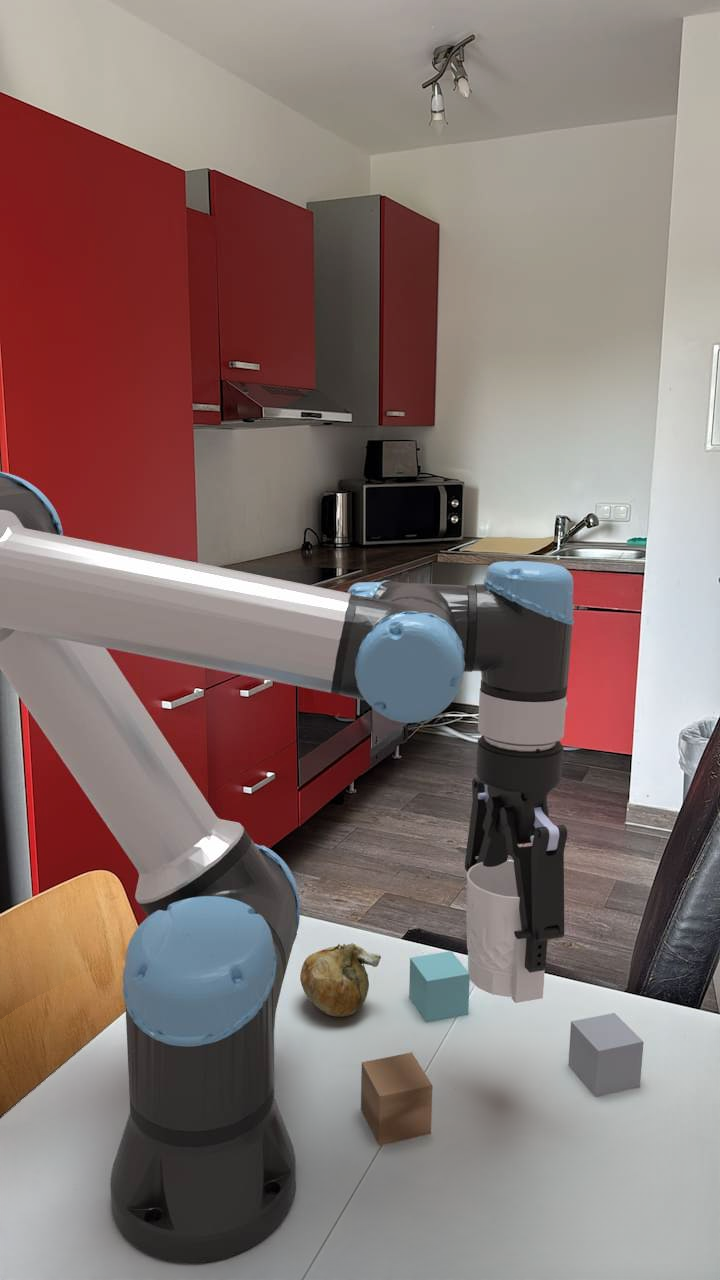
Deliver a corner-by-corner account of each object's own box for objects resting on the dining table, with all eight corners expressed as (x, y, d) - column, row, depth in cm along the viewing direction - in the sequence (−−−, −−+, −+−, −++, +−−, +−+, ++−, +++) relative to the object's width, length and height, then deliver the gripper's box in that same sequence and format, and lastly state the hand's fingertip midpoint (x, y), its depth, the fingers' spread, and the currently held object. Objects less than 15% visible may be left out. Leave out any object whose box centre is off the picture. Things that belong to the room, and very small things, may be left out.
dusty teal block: (425, 1023, 103) (427, 981, 102) (409, 998, 108) (410, 957, 107) (468, 1015, 105) (469, 973, 104) (449, 991, 109) (451, 951, 108)
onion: (343, 980, 111) (344, 917, 109) (384, 1013, 105) (386, 946, 103) (287, 1001, 107) (287, 935, 105) (327, 1037, 100) (327, 968, 99)
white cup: (554, 1003, 85) (562, 899, 83) (465, 1000, 85) (471, 896, 83) (539, 956, 93) (546, 860, 91) (458, 953, 93) (463, 857, 91)
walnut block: (378, 1146, 85) (379, 1096, 84) (360, 1110, 89) (361, 1062, 88) (430, 1134, 86) (432, 1085, 85) (410, 1099, 91) (411, 1052, 90)
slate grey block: (595, 1097, 92) (598, 1051, 91) (568, 1066, 96) (571, 1021, 95) (639, 1087, 93) (643, 1041, 92) (611, 1057, 98) (614, 1012, 97)
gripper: (623, 772, 76) (601, 1030, 80) (506, 705, 95) (493, 917, 99) (539, 780, 74) (521, 1045, 78) (436, 710, 93) (427, 927, 97)
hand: (506, 973), depth 89 cm, fingers closed on white cup, 8 cm apart
